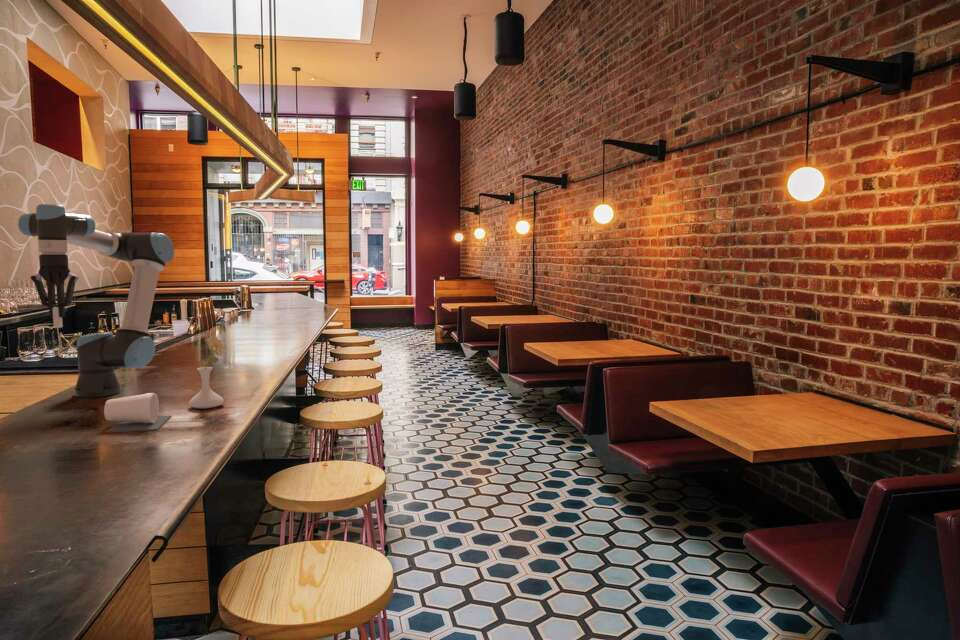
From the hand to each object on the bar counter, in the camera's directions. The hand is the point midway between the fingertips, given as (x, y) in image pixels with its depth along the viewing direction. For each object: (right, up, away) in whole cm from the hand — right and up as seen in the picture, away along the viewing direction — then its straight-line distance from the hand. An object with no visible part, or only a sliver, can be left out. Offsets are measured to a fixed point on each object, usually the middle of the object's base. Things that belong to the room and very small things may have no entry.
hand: (58, 327), depth 196 cm
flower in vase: (+41, -28, +18) cm, 52 cm away
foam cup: (+21, -25, -8) cm, 34 cm away
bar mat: (+30, -30, -5) cm, 43 cm away
